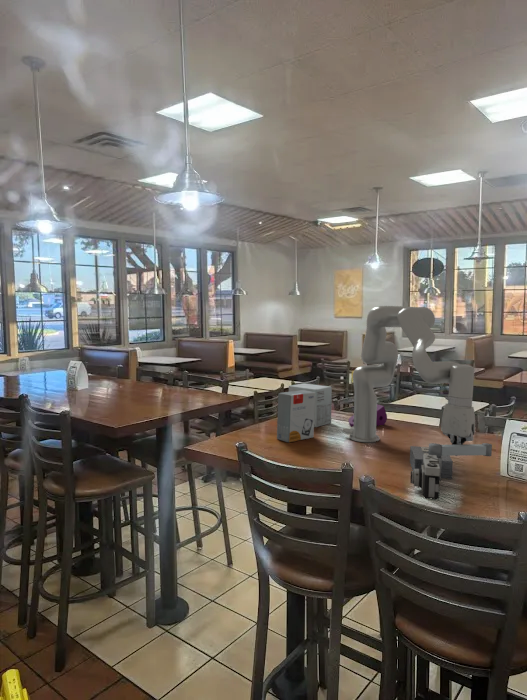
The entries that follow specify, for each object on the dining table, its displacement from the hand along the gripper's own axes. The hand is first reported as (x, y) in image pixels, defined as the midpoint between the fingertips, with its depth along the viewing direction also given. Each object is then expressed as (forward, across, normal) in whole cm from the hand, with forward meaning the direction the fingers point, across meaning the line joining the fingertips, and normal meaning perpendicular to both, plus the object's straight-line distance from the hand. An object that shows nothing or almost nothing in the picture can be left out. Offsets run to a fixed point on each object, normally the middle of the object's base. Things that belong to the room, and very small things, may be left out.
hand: (456, 454), depth 170 cm
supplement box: (+9, -85, +12) cm, 86 cm away
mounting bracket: (+9, -66, +31) cm, 73 cm away
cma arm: (-1, +3, -3) cm, 4 cm away
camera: (+7, +2, -21) cm, 23 cm away
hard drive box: (+9, -67, -14) cm, 68 cm away
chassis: (+7, -7, -4) cm, 11 cm away
